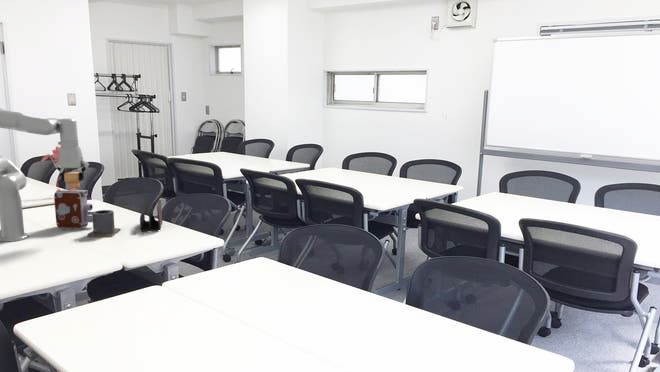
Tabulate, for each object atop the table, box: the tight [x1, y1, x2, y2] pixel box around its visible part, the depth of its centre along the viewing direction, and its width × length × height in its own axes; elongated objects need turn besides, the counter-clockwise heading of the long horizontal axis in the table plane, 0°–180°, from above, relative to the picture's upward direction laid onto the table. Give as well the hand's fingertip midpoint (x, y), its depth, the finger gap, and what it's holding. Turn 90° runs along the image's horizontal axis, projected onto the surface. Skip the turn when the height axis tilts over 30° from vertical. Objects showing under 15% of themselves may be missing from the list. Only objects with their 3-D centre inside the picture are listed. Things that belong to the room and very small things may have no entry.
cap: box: [63, 171, 81, 189], centre depth 247 cm, size 7×7×7 cm
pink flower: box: [41, 145, 77, 198], centre depth 350 cm, size 15×26×35 cm, turn 136°
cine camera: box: [53, 189, 94, 229], centre depth 268 cm, size 9×19×20 cm, turn 89°
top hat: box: [86, 209, 121, 238], centre depth 257 cm, size 12×12×11 cm
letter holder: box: [139, 199, 163, 233], centre depth 271 cm, size 10×20×14 cm, turn 15°
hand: (73, 180), depth 247 cm, fingers closed on cap, 7 cm apart
